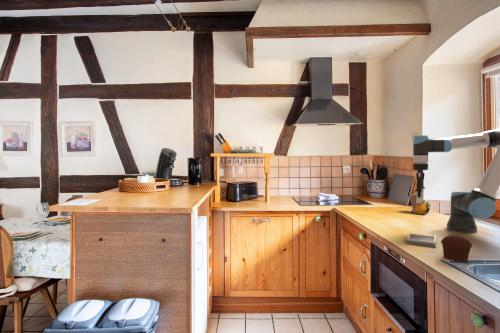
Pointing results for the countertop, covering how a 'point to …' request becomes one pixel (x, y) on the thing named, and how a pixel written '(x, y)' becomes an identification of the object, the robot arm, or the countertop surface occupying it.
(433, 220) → the countertop surface
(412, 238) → the board
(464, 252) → the muffin
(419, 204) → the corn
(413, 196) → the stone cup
